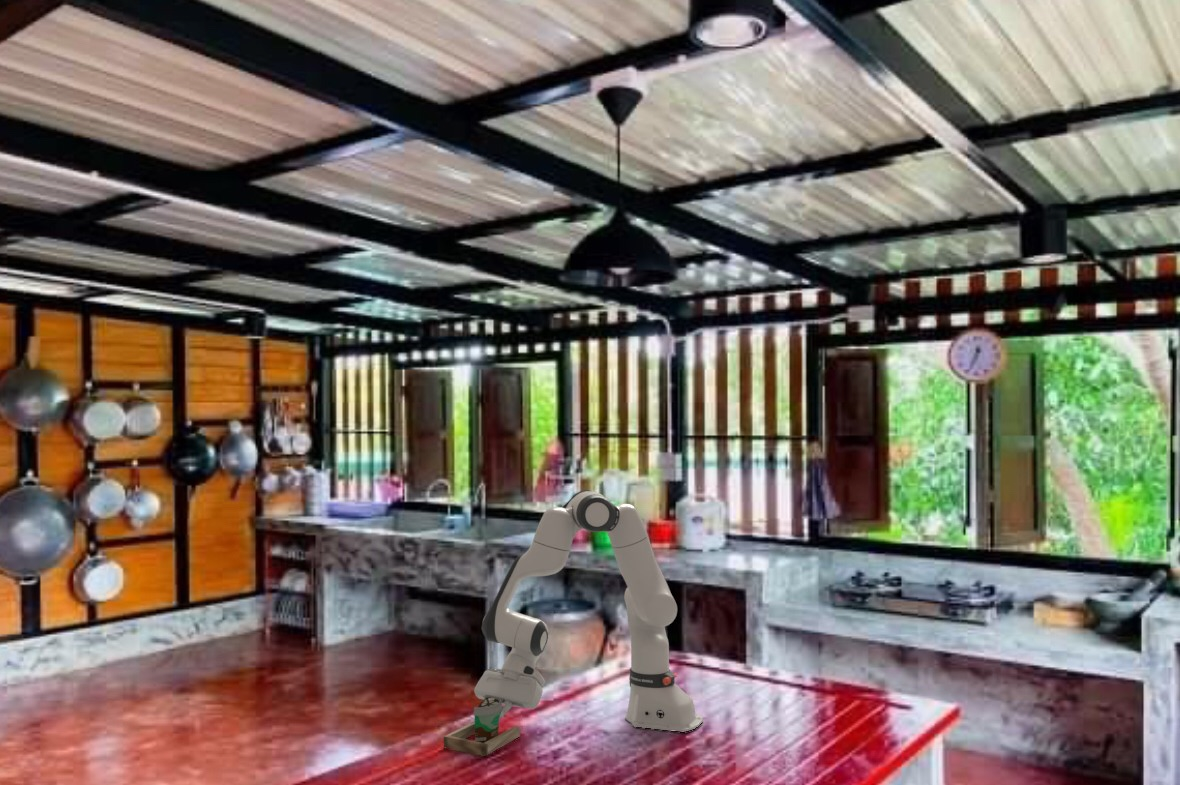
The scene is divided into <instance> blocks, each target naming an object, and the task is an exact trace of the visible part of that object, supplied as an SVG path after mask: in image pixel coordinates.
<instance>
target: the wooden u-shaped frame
mask: <svg viewBox="0 0 1180 785" xmlns="http://www.w3.org/2000/svg"><path fill="white" fill-rule="evenodd" d="M520 730H521V729H520V726H517V725H515V726H513V727H511V728H509V729H508V730H506V731H504V732H502V733H499V734H498V736H496V737H494V738H492V739H490V740H489V741H487V742H485V743H481V742H477V741H475V740H471V739H469V738H470V737H469V736H471V735H472V734H474V733H475V720H474V721H472V722H470V723H468V724H466V725H464V726H462V727H460V728H458V729H456V730H454V731H451V732H449V733H448V734H446V735H444V736H443V748H444V747H446V748H445V749H447V748H450V749H449V750H453V751H457V752H461V753H465V754H469V753H471V754H470V755H474V754H476V755H475V756H478V755H481V756H480V757H483V756H486V755H487V756H489V755H491V754H492V753H491V752H493V751H495V750H496V749H498V748H500V747H502V746H504V745H505V744H507V743H509V742H511V741H512V740H514V739H516V738H518V737H521V736H520V734H521V732H520ZM468 737H469V738H468ZM471 737H472V736H471ZM466 738H467V739H466ZM518 739H519V738H518ZM516 740H517V739H516ZM511 743H512V742H511ZM509 744H510V743H509ZM507 745H508V744H507ZM504 747H505V746H504ZM502 748H503V747H502ZM500 749H501V748H500ZM498 750H499V749H498ZM495 752H496V751H495ZM490 753H491V754H490ZM493 753H494V752H493ZM488 754H489V755H488ZM487 756H486V757H487Z"/></svg>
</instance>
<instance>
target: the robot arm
mask: <svg viewBox="0 0 1180 785" xmlns="http://www.w3.org/2000/svg"><path fill="white" fill-rule="evenodd" d="M581 530H586V531H587V532H588V531H589V532H591V533H601V532H606V534H607V536H608V538H609V542H610V545H611V549H612V552H613V555H614V558H615V560H616V564H617V566H618V570H619V572H620V574H621V576H622V578H623V580H624V582H625V585H626V586H627V587H626V588H625V591H624V597H623V598H624V599H623V600H624V603H625V606H626V616H627V624H628V630H629V637H630V669H629V678H628V679H629V688H630V693H629V699H628V706H627V710H626V714H625V720H626V721H627V722H629V723H630V724H631V725H632V727H633V726H634V727H633V728H636V727H642V728H641V729H645V728H651V729H650V730H654V729H661V730H660V731H662V730H677V731H688V730H692V729H695V728H696V727H698V726H699V725H700V724H701V723H702V722H703V723H704V718H703V716H702V715H700V714H696V710H695V709H696V708H695V704H694V703H695V702H694V701H693V698H691V696H689V695H688V694H687V693H686V692H685V691H684V690H682V689H681V688H680V686H679V685H677V684H676V683H675V680H676V678H677V677H678V676H677V673H678V672H674V673H673V672H672V671H671V669H670V667H669V666H670V661H669V660H670V657H669V656H670V649H669V648H670V645H669V644H670V643H669V639H668V635H667V633H666V628H665V627H667V626H670V624H672V623H673V622H674V620H675V619H676V617H677V614H678V605H677V603H676V600H675V598H674V596H673V595H672V593H671V590H670V587H669V585H668V583H667V581H666V579H665V576H664V575H663V573H662V570H661V568H660V566H659V564H658V561H657V559H656V556H655V553H654V550H653V548H652V545H651V540H650V538H649V535H648V531H647V529H646V526H645V524H644V522H643V520H642V517H641V515H640V513H639V512H638V510H637V508H636V507H635V506H634V505H633V504H630V503H619V504H616V505H615V504H614V503H613V502H611V500H609V498H607V497H606V496H604V495H603V494H601V493H600V492H597V491H592V490H590V489H589V490H588V489H587V490H586V489H585V490H581V491H579V492H577V493H575V494H574V495H573V496H571V498H570V499H569V500H568V501H567V502H566V503H565V504H564V505H563V506H562V507H561V506H553V507H549V508H548V509H545V511H544V512H543V514H542V517H541V518H540V520H539V523H538V525H537V527H536V530H535V534H534V535H533V539H532V542H531V544H530V547H529V548H528V550H526V552H525V553H522V554H519V555H518V556H517V557H516V558H515V560H513V562H512V564H511V565H510V568H509V570H508V572H507V573H506V575H505V577H504V579H503V582H502V583H501V586H500V587H499V590H498V592H497V593H496V596H495V598H494V599H493V601H492V604H491V605H490V607H489V609H488V611H487V612H486V614H485V615H484V617H483V619H482V624H481V631H482V634H483V635H484V637H485V638H486V640H487V641H488V642H492V643H497V644H501V645H504V646H507V647H511V651H510V652H509V653H508V654H507V656H506V659H505V660H504V663H503V664H502V666H501V668H494V667H490V668H489V669H485V671H484V672H483V674H482V676H481V677H480V678H479V680H478V682H477V684H476V685H475V686H474V689H473V692H474V695H475V696H476V697H477V698H478V699H479V700H482V701H484V699H485V695H492V696H496V697H498V698H500V701H501V703H502V710H501V711H500V716H499V719H504V716H505V714H506V713H508V712H509V711H510V710H511V709H512V708H513V707H512V706H515V707H520V708H524V709H530V710H535V709H536V708H537V707H538V706H539V704H540V702H541V698H542V694H543V693H544V692H543V688H544V687H545V684H546V681H545V678H544V677H543V675H542V674H541V672H539V671H538V669H536V667H537V662H538V660H539V659H540V657H541V656H542V654H543V652H544V650H545V647H546V646H547V643H548V639H549V631H550V630H549V627H548V625H547V623H545V622H544V621H543V620H542V619H539V618H536V617H533V616H530V615H527V614H523V613H520V612H517V611H514V610H512V609H511V608H509V606H510V604H511V602H512V599H513V598H514V595H515V593H516V591H517V589H518V587H519V585H520V583H521V582H522V581H524V580H525V579H528V578H534V577H546V576H551V575H555V574H557V573H560V571H562V569H564V567H565V565H566V563H567V561H568V558H569V556H570V555H569V554H570V552H571V549H572V544H573V540H574V538H575V536H576V535H577V534H578V533H579V532H580V531H581ZM703 723H702V724H703ZM702 724H701V725H702ZM701 725H700V726H701ZM700 726H699V727H700ZM699 727H698V728H699ZM696 729H697V728H696ZM696 729H695V730H696ZM692 731H693V730H692Z"/></svg>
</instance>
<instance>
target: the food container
mask: <svg viewBox="0 0 1180 785" xmlns="http://www.w3.org/2000/svg"><path fill="white" fill-rule="evenodd" d="M502 707H503V703H501V701H500V698H498V697H496V696H492V695H485V699H484V700H482V701H481V702H480V703H479V705H478V706H476V707H475V706H474V708H473V716H474V721H475V735H474V741H477V742H481V743H485V742H487V741H489V740H490V739H492V738H494V737H496V736H498V735H499V730H500V729H499V727H500V718H499V716H500V711H501V710H502Z"/></svg>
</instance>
